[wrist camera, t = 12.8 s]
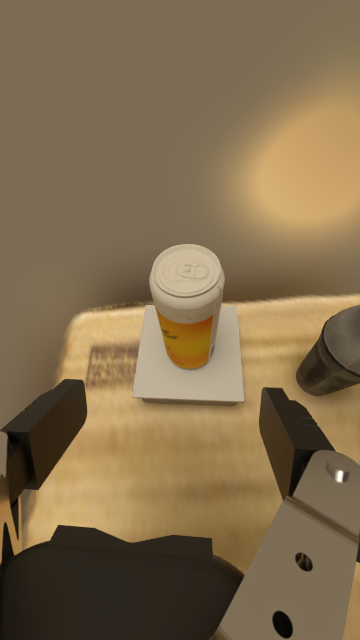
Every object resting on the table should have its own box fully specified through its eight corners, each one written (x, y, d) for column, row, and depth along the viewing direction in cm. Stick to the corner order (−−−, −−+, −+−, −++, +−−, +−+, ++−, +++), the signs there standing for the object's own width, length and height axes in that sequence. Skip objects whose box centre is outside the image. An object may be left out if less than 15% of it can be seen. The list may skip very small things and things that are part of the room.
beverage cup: (277, 359, 36) (353, 260, 18) (325, 349, 36) (443, 243, 19) (299, 411, 32) (419, 348, 15) (352, 400, 32) (531, 325, 15)
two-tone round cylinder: (172, 324, 34) (158, 237, 21) (217, 331, 33) (230, 244, 20) (161, 366, 31) (136, 293, 18) (210, 375, 30) (220, 306, 17)
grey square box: (232, 323, 39) (236, 306, 35) (237, 409, 32) (244, 401, 28) (151, 322, 40) (145, 305, 36) (140, 405, 33) (132, 396, 29)
